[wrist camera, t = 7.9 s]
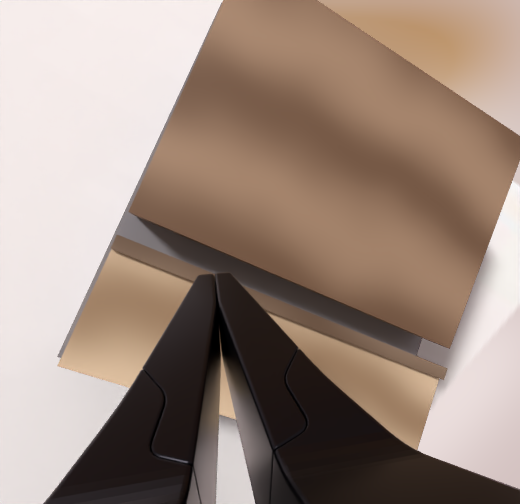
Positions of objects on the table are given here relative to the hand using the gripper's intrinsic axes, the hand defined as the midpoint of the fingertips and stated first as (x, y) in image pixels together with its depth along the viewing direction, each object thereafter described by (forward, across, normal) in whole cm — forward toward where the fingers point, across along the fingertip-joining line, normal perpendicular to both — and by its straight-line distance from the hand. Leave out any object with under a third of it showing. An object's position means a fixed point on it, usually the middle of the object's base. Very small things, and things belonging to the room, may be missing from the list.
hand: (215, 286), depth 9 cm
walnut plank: (+9, -7, +1) cm, 12 cm away
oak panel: (+4, -2, +8) cm, 10 cm away
